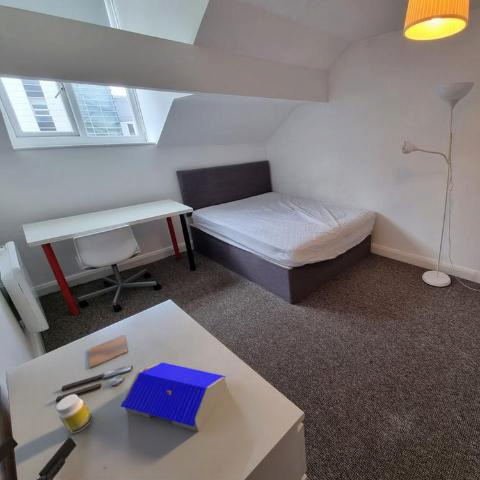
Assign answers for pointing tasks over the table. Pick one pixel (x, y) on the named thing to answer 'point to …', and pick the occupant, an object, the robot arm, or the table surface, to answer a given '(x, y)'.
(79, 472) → the table surface
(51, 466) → the robot arm
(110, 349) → the cork coaster
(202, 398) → the roof
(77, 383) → the cutlery
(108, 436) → the table surface
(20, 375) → the table surface
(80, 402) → the supplement bottle
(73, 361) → the table surface
